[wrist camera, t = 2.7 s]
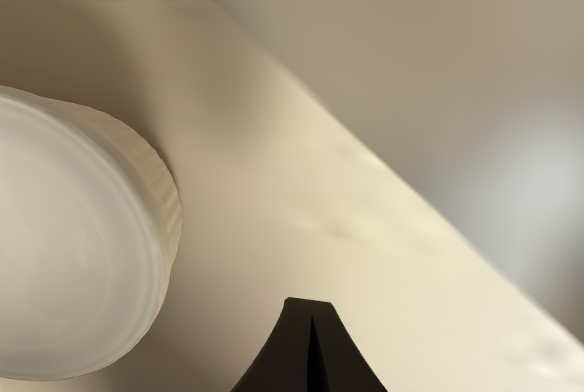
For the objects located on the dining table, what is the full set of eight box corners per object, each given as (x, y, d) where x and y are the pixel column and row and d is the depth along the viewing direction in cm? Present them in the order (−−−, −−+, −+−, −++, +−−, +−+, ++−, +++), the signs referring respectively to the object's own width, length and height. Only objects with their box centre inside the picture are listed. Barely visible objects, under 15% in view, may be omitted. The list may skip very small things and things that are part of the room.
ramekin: (-78, 133, 16) (-253, 155, 11) (135, 42, 15) (47, 19, 10) (51, 327, 19) (-40, 413, 14) (238, 268, 18) (212, 341, 13)
